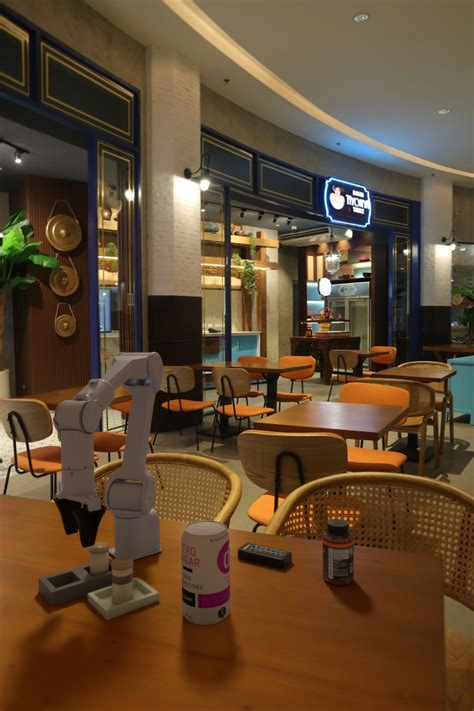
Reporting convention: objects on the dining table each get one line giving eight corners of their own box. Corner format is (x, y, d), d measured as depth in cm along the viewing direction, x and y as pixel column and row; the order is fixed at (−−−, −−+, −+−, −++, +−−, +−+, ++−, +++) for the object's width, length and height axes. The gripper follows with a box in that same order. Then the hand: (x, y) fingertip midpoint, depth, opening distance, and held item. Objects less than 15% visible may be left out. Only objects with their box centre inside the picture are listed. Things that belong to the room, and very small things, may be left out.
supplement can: (236, 605, 94) (235, 521, 93) (220, 630, 86) (218, 539, 85) (194, 598, 96) (193, 517, 96) (174, 622, 89) (172, 533, 88)
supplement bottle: (323, 571, 107) (323, 515, 106) (353, 573, 106) (353, 517, 105) (321, 585, 101) (321, 526, 101) (353, 587, 100) (354, 528, 99)
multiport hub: (283, 571, 108) (283, 560, 108) (236, 559, 114) (236, 549, 114) (292, 563, 112) (292, 552, 112) (247, 552, 117) (247, 542, 117)
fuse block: (108, 569, 108) (108, 557, 108) (124, 582, 103) (124, 569, 103) (38, 591, 100) (38, 578, 100) (52, 606, 94) (51, 592, 94)
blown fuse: (127, 592, 98) (127, 554, 98) (137, 600, 95) (136, 561, 95) (108, 598, 96) (107, 560, 96) (117, 607, 93) (116, 567, 93)
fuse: (104, 575, 106) (103, 540, 106) (113, 582, 103) (112, 546, 103) (86, 580, 104) (85, 545, 104) (94, 588, 101) (93, 551, 101)
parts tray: (137, 584, 102) (137, 577, 102) (159, 600, 96) (158, 592, 96) (87, 601, 96) (87, 593, 96) (107, 620, 90) (107, 611, 89)
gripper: (42, 462, 100) (44, 533, 101) (71, 478, 89) (73, 558, 89) (78, 456, 105) (80, 524, 105) (111, 471, 93) (112, 547, 94)
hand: (79, 539), depth 98 cm, fingers open, 7 cm apart
